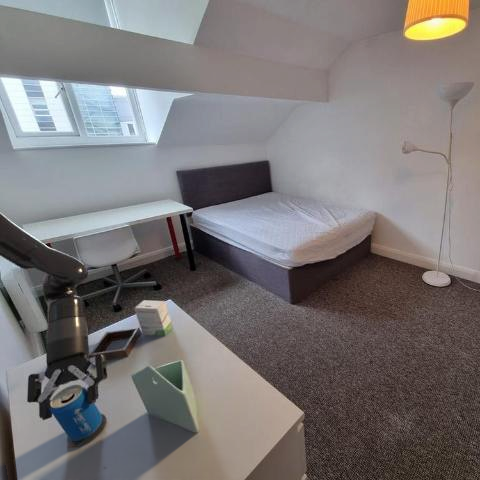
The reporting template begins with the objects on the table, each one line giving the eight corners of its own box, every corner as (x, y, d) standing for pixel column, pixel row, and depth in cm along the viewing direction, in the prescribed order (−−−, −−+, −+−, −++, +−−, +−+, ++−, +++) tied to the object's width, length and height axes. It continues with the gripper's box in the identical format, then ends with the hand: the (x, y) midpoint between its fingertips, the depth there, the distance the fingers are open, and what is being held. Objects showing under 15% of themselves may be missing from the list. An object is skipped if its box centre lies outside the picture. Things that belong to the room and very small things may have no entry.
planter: (218, 403, 71) (202, 348, 63) (197, 434, 65) (176, 376, 56) (171, 386, 77) (151, 333, 68) (147, 413, 70) (121, 357, 62)
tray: (91, 362, 85) (88, 355, 84) (109, 338, 95) (106, 331, 94) (128, 356, 87) (125, 349, 86) (141, 333, 97) (139, 327, 95)
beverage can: (74, 448, 62) (51, 415, 57) (67, 431, 66) (44, 398, 61) (107, 425, 67) (88, 392, 62) (98, 410, 70) (80, 378, 65)
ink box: (143, 335, 96) (132, 309, 91) (152, 325, 100) (142, 299, 95) (165, 336, 95) (156, 309, 90) (174, 325, 100) (165, 300, 95)
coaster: (60, 450, 62) (59, 449, 62) (80, 418, 69) (79, 416, 69) (96, 443, 63) (95, 441, 63) (112, 412, 70) (111, 410, 70)
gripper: (18, 348, 60) (17, 429, 55) (95, 328, 66) (100, 400, 61) (40, 349, 67) (40, 421, 62) (108, 331, 72) (114, 396, 67)
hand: (70, 410), depth 61 cm, fingers open, 8 cm apart
